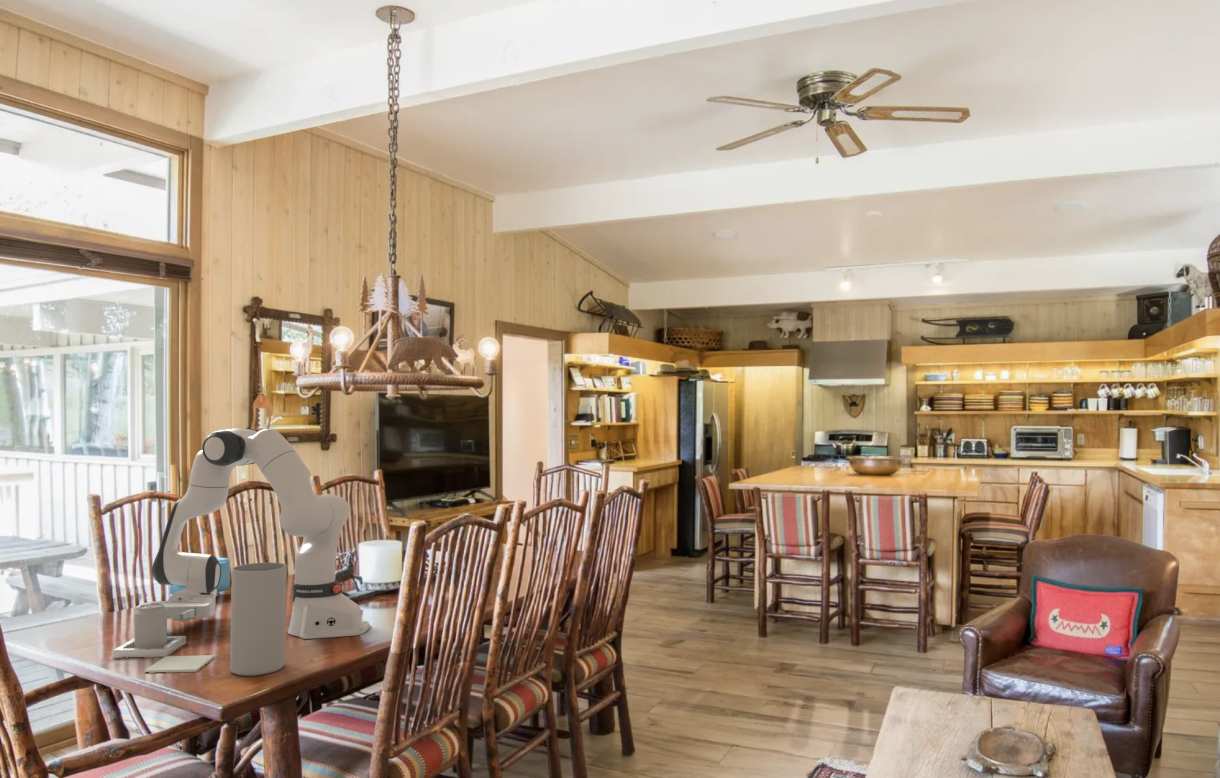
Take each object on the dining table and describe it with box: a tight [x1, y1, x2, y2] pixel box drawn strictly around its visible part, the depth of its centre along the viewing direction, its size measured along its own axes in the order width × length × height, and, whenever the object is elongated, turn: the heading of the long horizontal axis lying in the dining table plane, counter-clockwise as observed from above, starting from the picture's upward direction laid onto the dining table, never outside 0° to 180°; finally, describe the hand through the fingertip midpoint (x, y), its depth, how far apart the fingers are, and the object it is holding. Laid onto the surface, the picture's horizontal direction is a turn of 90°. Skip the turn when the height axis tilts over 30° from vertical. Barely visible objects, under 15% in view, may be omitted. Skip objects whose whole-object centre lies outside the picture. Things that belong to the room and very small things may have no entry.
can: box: [134, 603, 168, 648], centre depth 221 cm, size 8×8×12 cm
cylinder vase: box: [229, 562, 288, 677], centre depth 206 cm, size 12×12×25 cm
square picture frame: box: [112, 635, 187, 659], centre depth 221 cm, size 13×13×2 cm
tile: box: [144, 654, 215, 674], centre depth 208 cm, size 12×12×1 cm
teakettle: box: [169, 556, 231, 597], centre depth 285 cm, size 19×19×15 cm
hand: (164, 616), depth 229 cm, fingers open, 8 cm apart
